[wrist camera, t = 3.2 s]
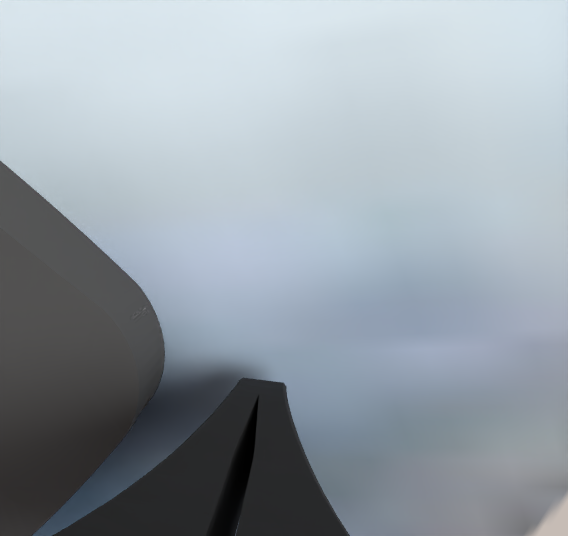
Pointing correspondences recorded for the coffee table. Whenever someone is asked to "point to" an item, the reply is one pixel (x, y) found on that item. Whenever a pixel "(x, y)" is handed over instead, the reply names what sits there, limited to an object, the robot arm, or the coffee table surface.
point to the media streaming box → (63, 357)
